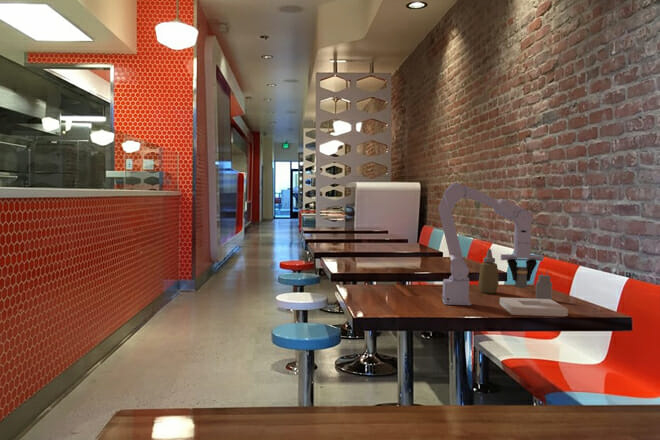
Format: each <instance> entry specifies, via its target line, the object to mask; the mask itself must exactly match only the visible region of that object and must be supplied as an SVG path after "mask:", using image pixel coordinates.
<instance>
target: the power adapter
mask: <svg viewBox="0 0 660 440" xmlns="http://www.w3.org/2000/svg"><path fill="white" fill-rule="evenodd" d="M548 270H549V269H546V275H545V274H543V273H541V274H538V277H537V278H538V279H537V281H535V283H536V284H535V286H536V287H535V299H551V300H552V298H553V297H552V296H553V295H552V294H553V282H552V281H551V275H549V274H548Z"/></svg>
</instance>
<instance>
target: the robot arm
mask: <svg viewBox="0 0 660 440" xmlns="http://www.w3.org/2000/svg"><path fill="white" fill-rule="evenodd" d="M463 198H464V199H465V200H468V199H469V200H470V199H471V200H475V201H477V202H479V203H482V204H484V205H485V206H489V207H491V208H493V213H494V214H496V215H498V216H501V217H502V218H505V219H507V220H509V221H513V222H514V232H513V254H511V253H508V254H506V253H505V254H504V253H503V254H501V253H500V260H501V261H506V262H507V265H508V266H509V270H510V273H511V276H512V281H514V282H515V281H516V278H517V277H516V270H517V267H518V262H517V261H525V267H527V270H528V273H527V282H530V281H531V277H532V274H533V272H534V269H535V268H536V266H537V263H538V262H544V255H543V254H531V253H532V251H531V248H532V247H531V246H532V230H531V228H532V222H533V221H534V217H533V215H532V213H531V212H530V211H529V209H525V208H522V205H516V204H515V203H512V202H510V199H509V198H505V199H504V198H500V199H495V198H493V197H491V196H489V195H488V194H487V193H484V192H482V191H480V190H478V189H476V188H474V187H470V186H468V185H463V184H461V183H460V182H459V183H458V182H454V183H451V184H449V186H448V187H447V188H446V189H445V190H444V193H442V197H441V199H440V202H439V205H438V207H437V208H438V209H437V210H438V213H439V216H440V221H441V226H442V230H443V234H444V238H445V243H446V247H447V249H448V254H449V259H450V274H451V275H450V276H449V278H443V279H442V296H441V298H442V299H441V300H442V302H443V304H444V305H451V306H453V305H454V306H472V303H471V302H470V277H468V275H469V272H470V271H469V270H470V269H469V267H468V264H467V262H466V261H465V260H464V257H463V253H462V249H461V245H460V242H459V236H458V232H457V229H456V224H455V220H454V216H453V212H452V211H453V209H454V207H455V206H456V204H457V203H458V202H459V201H461V200H462V199H463Z"/></svg>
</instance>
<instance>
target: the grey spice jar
mask: <svg viewBox="0 0 660 440" xmlns="http://www.w3.org/2000/svg"><path fill="white" fill-rule="evenodd" d="M527 273H528V270H527V267H526V266H517V270H516V277H517V278H516V281H514V287H515V288H521V289H524V288H525V289H526V288H528V281H527Z"/></svg>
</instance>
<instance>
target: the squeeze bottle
mask: <svg viewBox="0 0 660 440" xmlns="http://www.w3.org/2000/svg"><path fill="white" fill-rule="evenodd" d="M495 262H496V258H495V257H493V252H492V249H491V248H487V252H486V256H485V257H483V261H482V263H481V264H480V268H479V275H478V276H479V277H478V287H479V291H480V292H481V293H482V294H491V295H493V294H496V293H497V290H498V287H499V285H500V284H499V272H498V271H499V270H498V264H497V263H495Z"/></svg>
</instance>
